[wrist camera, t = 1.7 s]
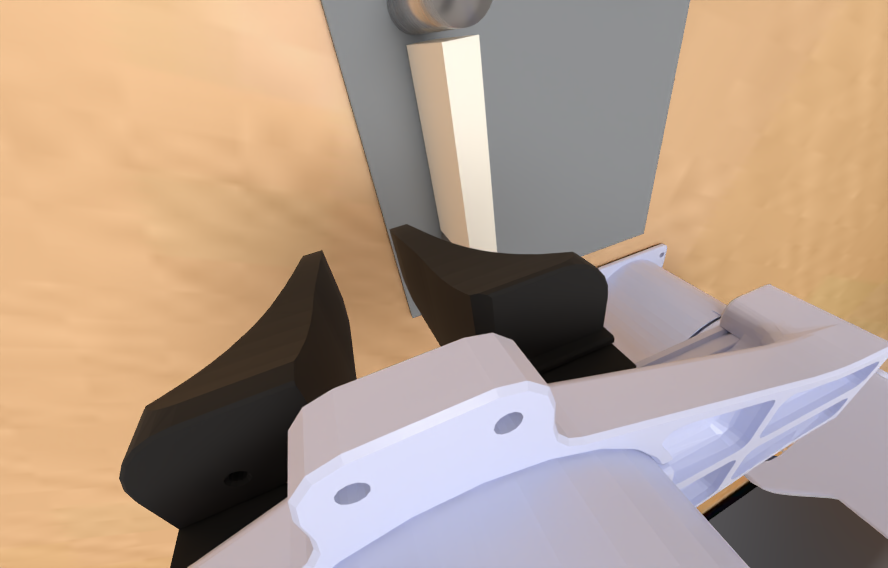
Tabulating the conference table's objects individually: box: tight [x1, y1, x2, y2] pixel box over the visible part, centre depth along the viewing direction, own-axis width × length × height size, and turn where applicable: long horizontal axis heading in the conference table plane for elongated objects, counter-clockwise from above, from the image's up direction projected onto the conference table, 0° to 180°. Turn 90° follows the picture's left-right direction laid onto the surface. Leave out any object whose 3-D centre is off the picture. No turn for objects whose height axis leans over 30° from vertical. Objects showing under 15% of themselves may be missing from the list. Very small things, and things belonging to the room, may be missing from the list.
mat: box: [321, 0, 690, 318], centre depth 22 cm, size 20×21×1 cm
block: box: [406, 35, 497, 252], centre depth 18 cm, size 11×2×5 cm, turn 10°
